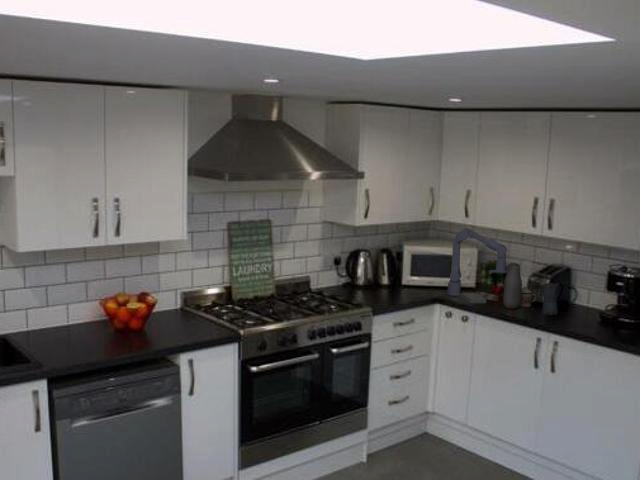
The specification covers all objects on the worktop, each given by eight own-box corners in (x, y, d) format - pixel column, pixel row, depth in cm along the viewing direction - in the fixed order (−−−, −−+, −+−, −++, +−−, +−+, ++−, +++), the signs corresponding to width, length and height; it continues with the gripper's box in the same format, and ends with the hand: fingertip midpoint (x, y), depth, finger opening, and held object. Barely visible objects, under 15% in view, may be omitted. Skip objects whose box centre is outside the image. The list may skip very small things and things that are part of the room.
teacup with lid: (518, 307, 409) (520, 288, 407) (514, 303, 418) (515, 285, 416) (538, 307, 409) (539, 288, 408) (533, 303, 418) (534, 285, 417)
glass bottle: (512, 306, 411) (515, 261, 407) (523, 310, 401) (526, 264, 397) (499, 307, 407) (502, 261, 403) (509, 311, 398) (512, 264, 394)
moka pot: (534, 312, 396) (536, 279, 394) (555, 310, 402) (557, 278, 399) (544, 316, 388) (547, 282, 385) (566, 314, 393) (568, 281, 390)
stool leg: (475, 296, 434) (475, 291, 434) (478, 295, 436) (479, 291, 436) (495, 301, 422) (495, 296, 422) (498, 300, 424) (498, 295, 424)
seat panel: (461, 296, 433) (461, 292, 433) (475, 296, 434) (476, 292, 434) (470, 303, 415) (470, 299, 415) (486, 303, 417) (486, 299, 416)
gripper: (492, 264, 421) (490, 286, 423) (514, 265, 423) (512, 286, 425) (488, 262, 428) (486, 283, 430) (509, 263, 430) (508, 283, 432)
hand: (499, 284), depth 428 cm, fingers open, 5 cm apart
